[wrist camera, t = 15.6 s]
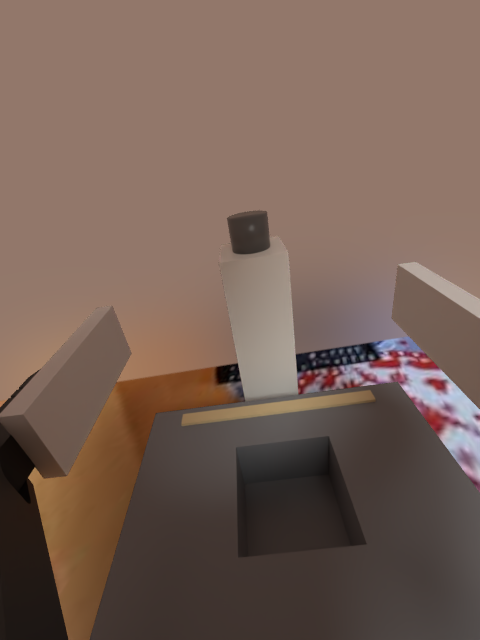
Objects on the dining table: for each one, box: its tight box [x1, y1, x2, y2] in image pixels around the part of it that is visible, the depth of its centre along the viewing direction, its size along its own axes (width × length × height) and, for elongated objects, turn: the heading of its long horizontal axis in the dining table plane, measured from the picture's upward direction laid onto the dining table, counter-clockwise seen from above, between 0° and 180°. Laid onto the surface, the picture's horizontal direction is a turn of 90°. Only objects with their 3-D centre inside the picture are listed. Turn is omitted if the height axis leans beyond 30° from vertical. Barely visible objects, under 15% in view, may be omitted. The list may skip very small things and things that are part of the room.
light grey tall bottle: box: [219, 211, 298, 402], centre depth 21 cm, size 4×4×15 cm
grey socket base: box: [90, 382, 480, 640], centre depth 15 cm, size 16×12×4 cm
